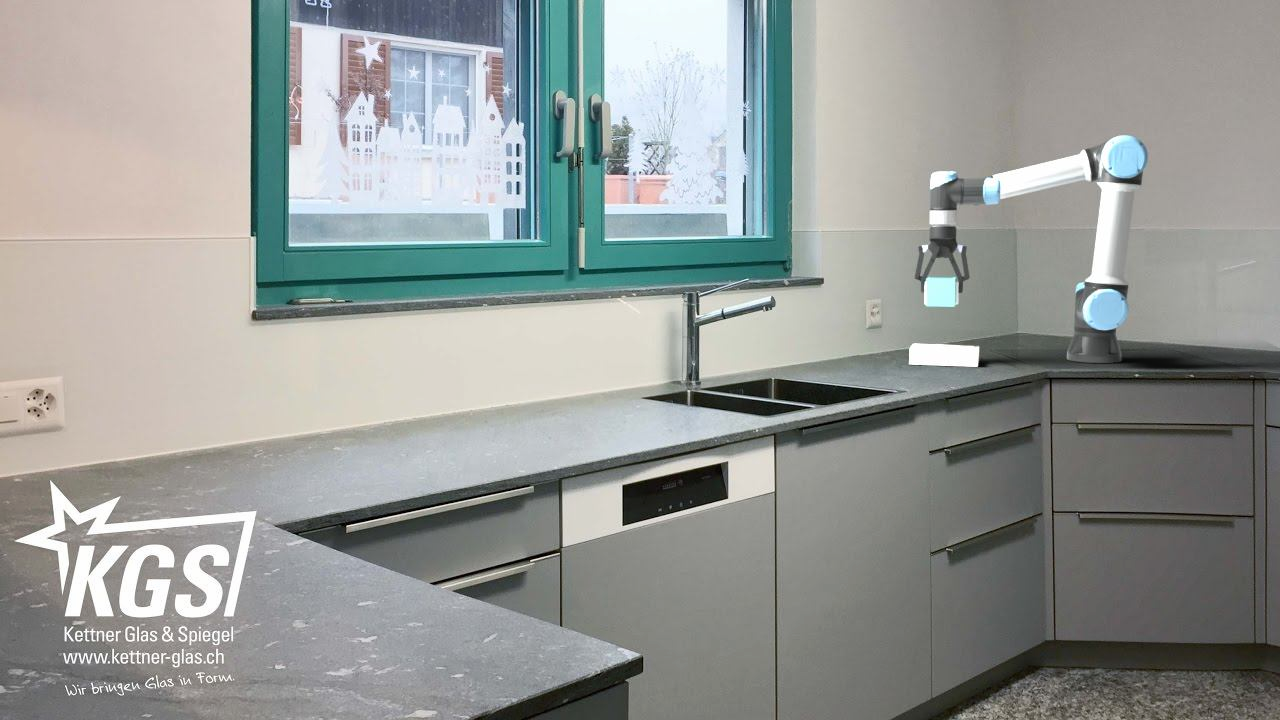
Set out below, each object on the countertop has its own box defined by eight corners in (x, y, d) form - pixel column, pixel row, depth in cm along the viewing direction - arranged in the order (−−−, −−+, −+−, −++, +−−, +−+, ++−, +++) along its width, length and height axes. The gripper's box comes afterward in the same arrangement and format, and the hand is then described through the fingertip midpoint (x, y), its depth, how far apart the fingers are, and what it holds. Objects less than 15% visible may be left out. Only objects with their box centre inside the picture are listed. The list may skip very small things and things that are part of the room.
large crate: (978, 360, 356) (979, 345, 355) (977, 366, 343) (977, 350, 342) (912, 358, 361) (913, 343, 361) (909, 364, 348) (909, 348, 348)
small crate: (956, 304, 355) (957, 277, 354) (954, 306, 347) (955, 278, 346) (928, 304, 358) (929, 277, 357) (926, 306, 350) (926, 278, 349)
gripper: (981, 225, 350) (979, 303, 353) (907, 225, 357) (906, 302, 359) (979, 225, 343) (977, 305, 346) (904, 226, 349) (903, 304, 352)
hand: (941, 304), depth 352 cm, fingers closed on small crate, 8 cm apart
